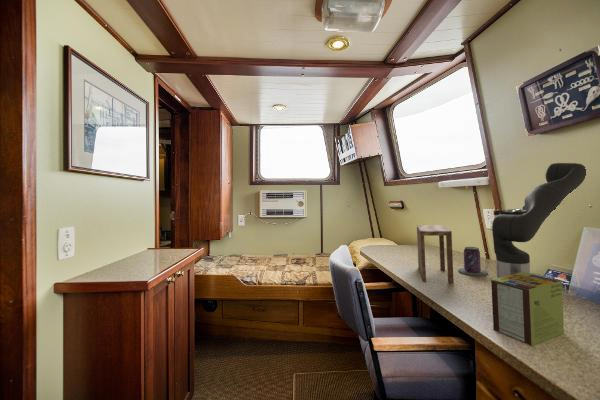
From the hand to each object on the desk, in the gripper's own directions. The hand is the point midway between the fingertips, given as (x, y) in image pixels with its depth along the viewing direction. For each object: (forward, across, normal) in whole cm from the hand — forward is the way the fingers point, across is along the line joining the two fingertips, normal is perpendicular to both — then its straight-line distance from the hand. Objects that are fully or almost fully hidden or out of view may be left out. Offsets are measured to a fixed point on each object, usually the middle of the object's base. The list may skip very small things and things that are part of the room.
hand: (496, 213), depth 137 cm
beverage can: (+12, 0, +30) cm, 32 cm away
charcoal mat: (+12, 0, +30) cm, 32 cm away
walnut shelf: (+30, +8, +30) cm, 44 cm away
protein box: (+12, +64, +30) cm, 72 cm away
